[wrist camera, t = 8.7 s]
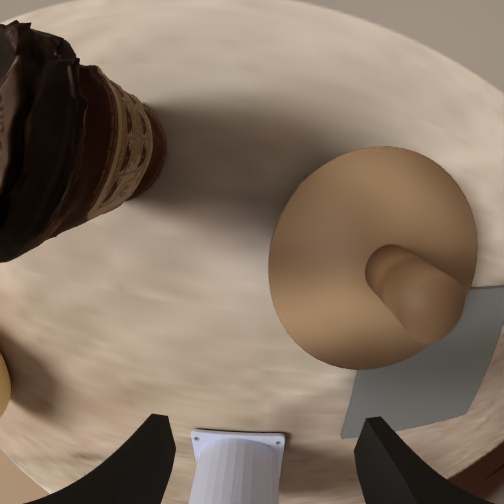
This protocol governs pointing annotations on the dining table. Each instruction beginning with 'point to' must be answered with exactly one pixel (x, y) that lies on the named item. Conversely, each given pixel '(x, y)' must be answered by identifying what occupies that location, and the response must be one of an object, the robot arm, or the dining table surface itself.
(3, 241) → the coffee cup
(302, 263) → the lid
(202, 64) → the dining table surface
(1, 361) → the sculpture
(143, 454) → the robot arm
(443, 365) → the plate
